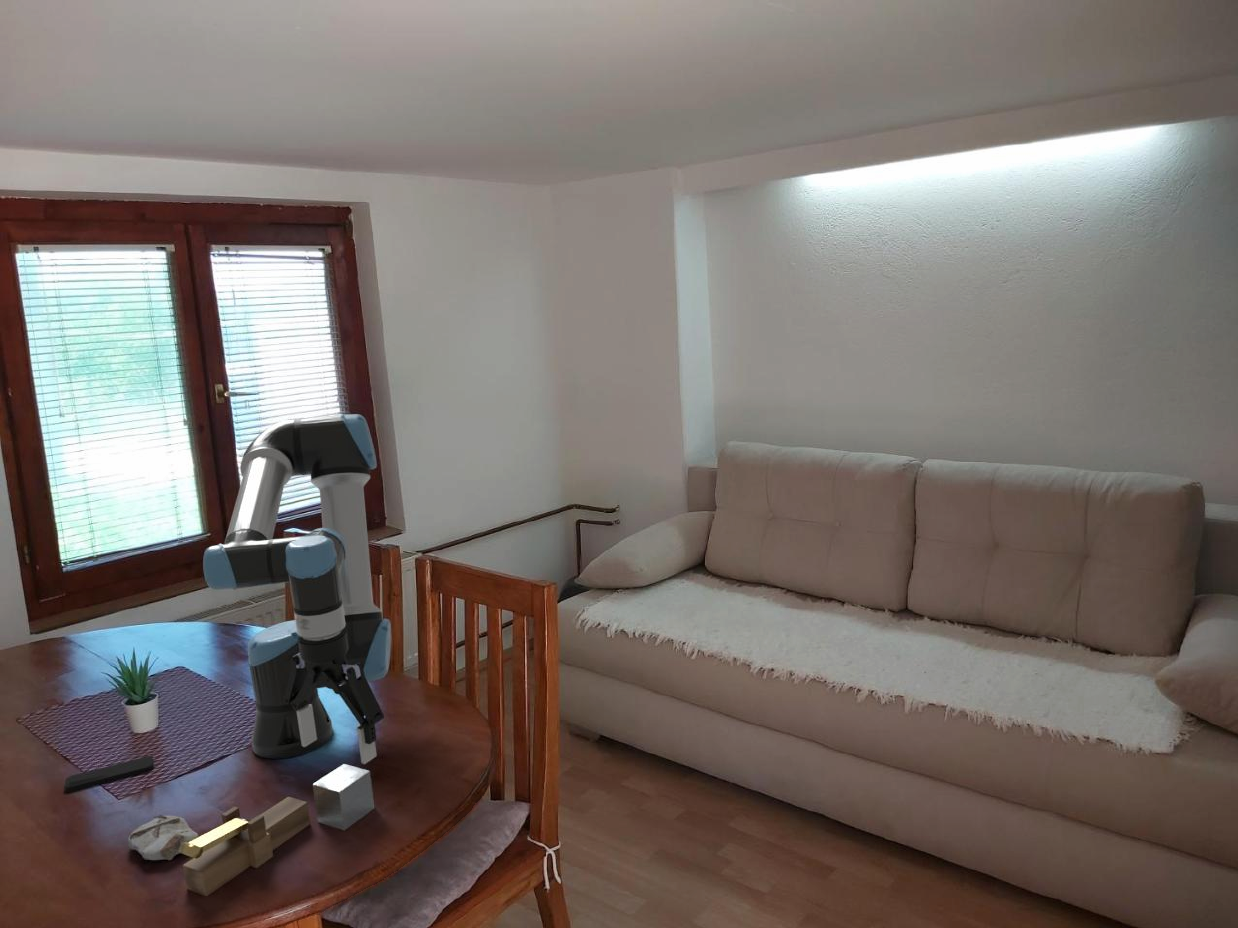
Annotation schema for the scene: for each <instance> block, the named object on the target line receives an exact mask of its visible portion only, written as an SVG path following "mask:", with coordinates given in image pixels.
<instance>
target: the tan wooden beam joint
mask: <svg viewBox="0 0 1238 928" xmlns="http://www.w3.org/2000/svg"><path fill="white" fill-rule="evenodd" d="M240 814H241V812H240V808H239V807H238V806H233V807H231V808H230V809H228V810H227V811H225V812H223V813H222V814H221V819H222V825H223V824H225V823H227V822H229V821H231V820H233V818H234V817H235V816H238V817H241V815H240ZM310 825H311V819H310V813H309V807H308V801H305V800H301V799H297V798H294V797H291V796H287V797H286V798H284V799H282V800H281V801H279V802H278V803H276V804H274V805H273V806H271V807H270V808H269V809H266V811H264V812H262V813H261V814H258V815H256V816H255V817H253V818H252V819H251V820H250V821H249V822H247V828H248V829H246V830H244V831H242V832H240V833H239V834H237V835H235V836H233V837H231V838H229V839H227V840H226V841H224V842H222V843H220V844H218V845H216V846H214V847H213V848H211V849H209V850H207V851H205V852H203V853H202V855H201V856H200V857H199V858H197V859H196V858H193V857H192V858H191V859H190V860H189V861H187V862H185V863H184V864H182V868H183V872H184V874H183V875H184V877H185V885H186V890H189V891H191V892H193V893H196V894H199V895H201V896H204V897H206V898H207V897H208V896H210V895H211V894H213V893H214V892H215V891H217V890H218V889H220V888H222V887H223V886H224V885H225V884H227V883H228V882H230V881H231V880H233V879H234V878H236V877H237V876H238V875H240V874H241V873H242V872H244V871H246V870H247V869H248V868H249V867H253V868H255V869H257V868H260V866H262V865H263V864H265V863H267V862H268V861H269V860H271V858H273V857H274V850H276V849H277V848H278V847H280V846H281V845H282V844H284V843H285V842H288V840H290V839H291V838H293V837H294V836H295V835H297V834H298V833H299V832H301V831H302V830H304V829H305V828H307V827H308V826H310Z"/></svg>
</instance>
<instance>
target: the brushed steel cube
mask: <svg viewBox="0 0 1238 928" xmlns="http://www.w3.org/2000/svg"><path fill="white" fill-rule="evenodd" d="M371 776H372V775H371V770H367V769H365V768H360V767H357V766H353V765H349V764H345V763H343V764H342V765H340V766H338V767H337V768H336V769H334V770H333V771H331V772H329V773H328V774H326V775H324V776H323V777H321V778H320V779H318V780H317V781H316V782H314V783H313V784H312V791H313V795H314V803H315V809H316V817H317V822H318V823H319V824H323V825H326V826H329V827H333V828H335V829H339V830H341V831H346V830H347V829H349V828H350V827H352V825H354V824H355V823H356V822H359V820H360V819H362V818H363V817H364V816H365V817H366V815H367V814H369V813H370V812H372V810H375V801H374V793H373V786H372V785H373V784H372V778H371Z"/></svg>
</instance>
